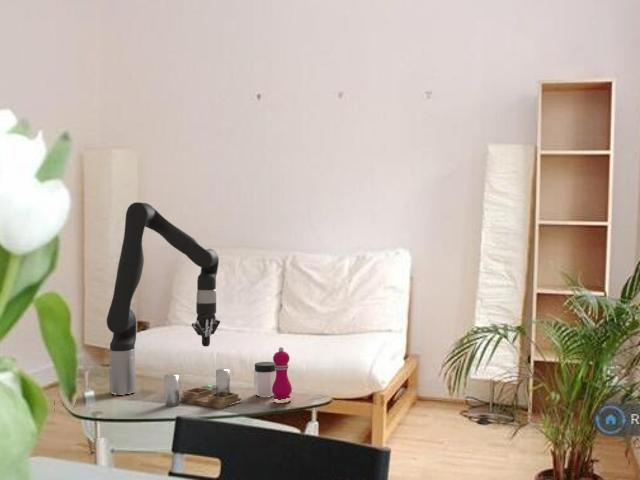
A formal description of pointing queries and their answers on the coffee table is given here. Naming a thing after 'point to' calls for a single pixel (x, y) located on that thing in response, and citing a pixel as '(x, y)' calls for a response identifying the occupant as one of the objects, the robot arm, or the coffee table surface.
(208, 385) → the button
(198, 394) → the wooden tray
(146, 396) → the coffee table surface
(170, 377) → the cylinder
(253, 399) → the coffee table surface
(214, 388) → the grey square box
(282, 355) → the pepper mill
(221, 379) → the seated billet
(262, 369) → the jar
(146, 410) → the coffee table surface
